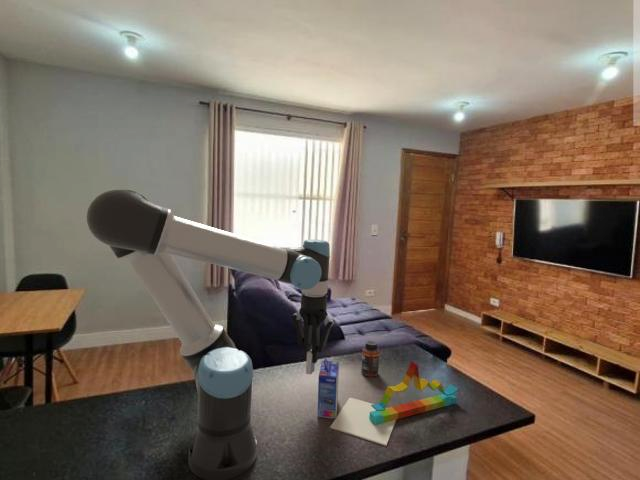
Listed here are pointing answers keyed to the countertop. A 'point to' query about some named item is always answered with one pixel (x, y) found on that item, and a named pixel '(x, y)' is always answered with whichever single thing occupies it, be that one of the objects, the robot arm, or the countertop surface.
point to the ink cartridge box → (328, 389)
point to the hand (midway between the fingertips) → (310, 371)
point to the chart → (413, 407)
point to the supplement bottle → (370, 359)
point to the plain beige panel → (362, 422)
